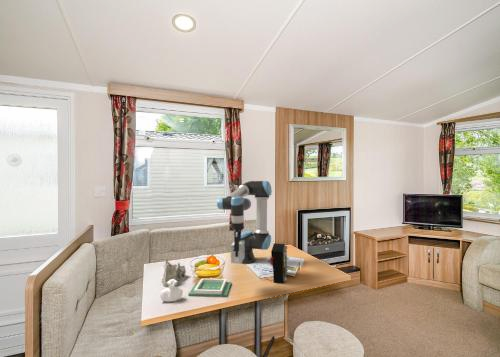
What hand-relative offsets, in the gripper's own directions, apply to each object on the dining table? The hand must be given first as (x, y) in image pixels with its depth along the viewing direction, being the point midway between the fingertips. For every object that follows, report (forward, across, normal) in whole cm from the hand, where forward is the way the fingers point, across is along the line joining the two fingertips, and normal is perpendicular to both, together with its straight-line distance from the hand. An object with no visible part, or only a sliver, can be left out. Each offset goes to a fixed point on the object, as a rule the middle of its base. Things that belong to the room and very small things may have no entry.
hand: (237, 258), depth 135 cm
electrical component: (+18, -16, +26) cm, 36 cm away
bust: (+18, +13, -36) cm, 42 cm away
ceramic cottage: (+18, -9, -43) cm, 48 cm away
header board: (+18, +2, -16) cm, 24 cm away
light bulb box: (+1, 0, 0) cm, 1 cm away
